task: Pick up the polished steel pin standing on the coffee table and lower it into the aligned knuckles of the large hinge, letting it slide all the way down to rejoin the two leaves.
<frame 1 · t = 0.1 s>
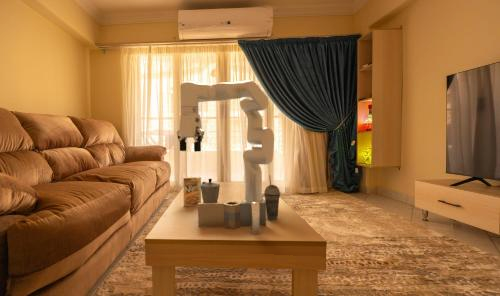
hand: (190, 151, 117), 31 cm above the table, tool pointing down, fingers open, 9 cm apart
candy box: (192, 205, 148), on the table
hinge: (232, 226, 112), on the table
coffeepot: (209, 216, 127), on the table
steel pin: (255, 233, 104), on the table
beverage cup: (272, 219, 122), on the table
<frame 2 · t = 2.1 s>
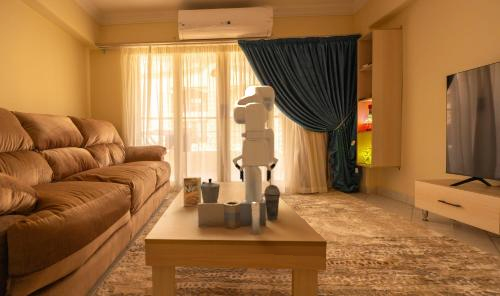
hand: (255, 181, 103), 20 cm above the table, tool pointing down, fingers open, 9 cm apart
nothing on the table moved.
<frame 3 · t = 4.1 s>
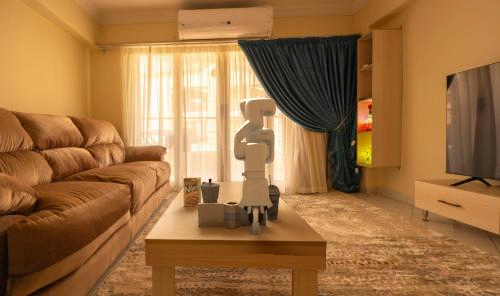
hand: (255, 222, 104), 4 cm above the table, tool pointing down, fingers closed on steel pin, 3 cm apart
steel pin: (255, 233, 104), on the table, touching gripper
everything else where it was.
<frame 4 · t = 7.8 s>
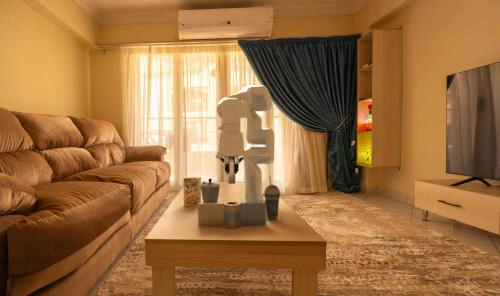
hand: (231, 173, 112), 22 cm above the table, tool pointing down, fingers closed on steel pin, 3 cm apart
steel pin: (231, 183, 112), point 18 cm above the table, touching gripper
everything else where it was.
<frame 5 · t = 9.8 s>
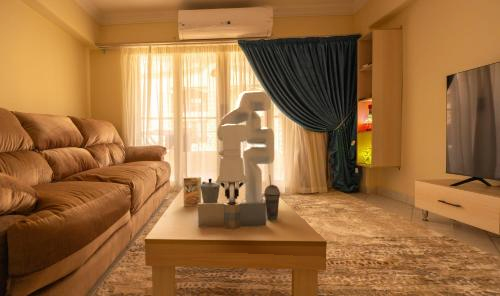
hand: (232, 197, 112), 12 cm above the table, tool pointing down, fingers closed on steel pin, 3 cm apart
steel pin: (232, 208, 112), point 8 cm above the table, touching gripper
everything else where it was.
when the fingers open (10 cm above the table, at t = 11.3 s): steel pin drops 6 cm, resting in hinge.
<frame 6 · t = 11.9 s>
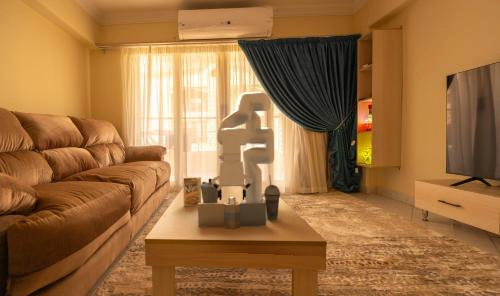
hand: (232, 199, 112), 11 cm above the table, tool pointing down, fingers open, 9 cm apart
steel pin: (232, 225, 112), resting in hinge
everything else where it was.
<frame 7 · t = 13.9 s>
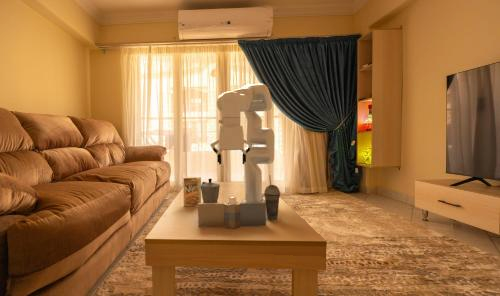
hand: (231, 164, 112), 26 cm above the table, tool pointing down, fingers open, 9 cm apart
nothing on the table moved.
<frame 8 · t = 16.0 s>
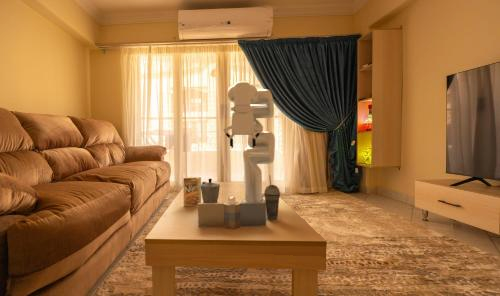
hand: (242, 147, 123), 32 cm above the table, tool pointing down, fingers open, 9 cm apart
nothing on the table moved.
at the end: steel pin 0.1 cm from the hinge (horizontally); steel pin resting in hinge; steel pin tilted 1° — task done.
